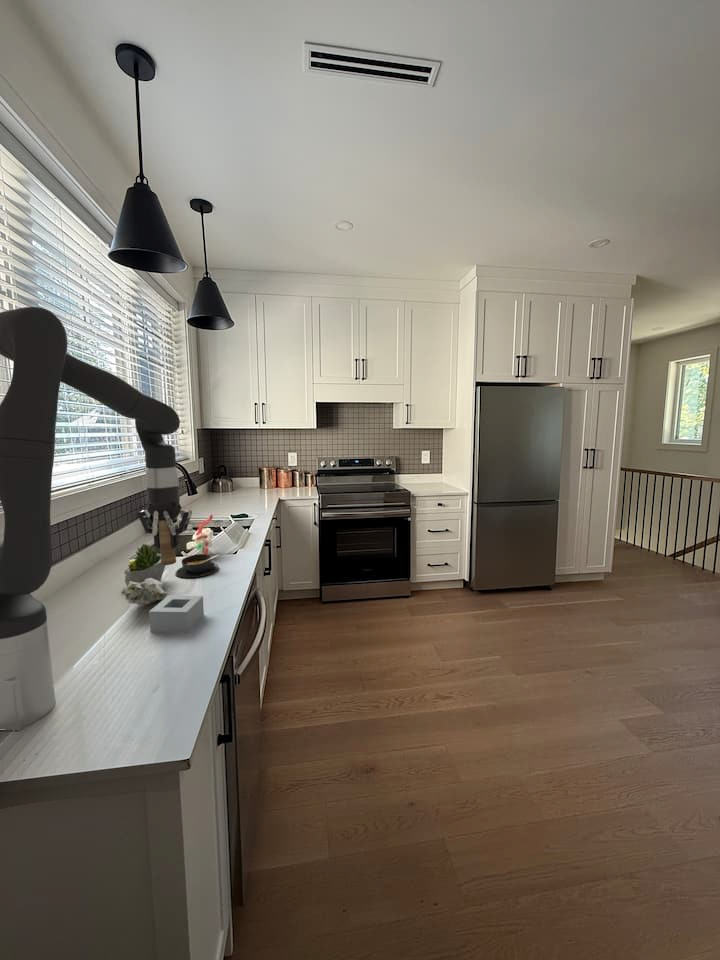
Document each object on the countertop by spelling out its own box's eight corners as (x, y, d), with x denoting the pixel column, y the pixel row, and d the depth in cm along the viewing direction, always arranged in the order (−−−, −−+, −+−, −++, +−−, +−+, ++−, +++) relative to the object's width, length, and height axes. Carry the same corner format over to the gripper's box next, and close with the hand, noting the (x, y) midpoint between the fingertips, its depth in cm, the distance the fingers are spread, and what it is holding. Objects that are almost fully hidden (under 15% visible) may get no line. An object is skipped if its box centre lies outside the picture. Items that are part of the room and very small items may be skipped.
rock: (159, 617, 112) (157, 584, 111) (117, 622, 109) (115, 588, 108) (172, 591, 130) (170, 562, 129) (136, 595, 127) (134, 565, 126)
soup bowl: (201, 563, 159) (200, 545, 158) (228, 570, 150) (227, 552, 149) (167, 575, 146) (165, 555, 145) (194, 583, 138) (193, 563, 137)
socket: (187, 633, 103) (186, 612, 103) (150, 633, 104) (148, 611, 103) (203, 615, 113) (202, 596, 112) (169, 615, 113) (168, 595, 113)
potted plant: (123, 584, 136) (119, 542, 134) (163, 576, 144) (161, 536, 142) (127, 596, 127) (124, 551, 125) (170, 586, 134) (168, 544, 132)
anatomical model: (187, 553, 170) (185, 513, 168) (213, 550, 174) (211, 511, 172) (187, 564, 156) (184, 520, 154) (215, 561, 161) (213, 518, 158)
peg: (172, 565, 104) (168, 521, 102) (158, 565, 104) (155, 520, 102) (178, 560, 107) (175, 517, 106) (165, 560, 107) (162, 517, 106)
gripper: (127, 486, 99) (133, 552, 101) (182, 486, 99) (187, 552, 101) (143, 482, 106) (149, 543, 109) (195, 482, 106) (199, 543, 108)
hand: (167, 547), depth 105 cm, fingers closed on peg, 3 cm apart
